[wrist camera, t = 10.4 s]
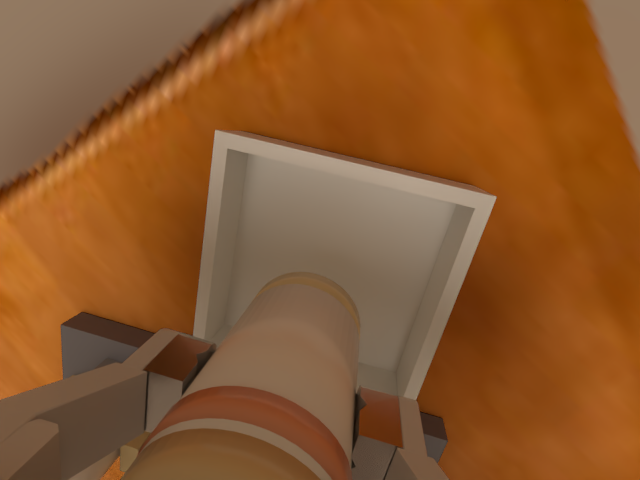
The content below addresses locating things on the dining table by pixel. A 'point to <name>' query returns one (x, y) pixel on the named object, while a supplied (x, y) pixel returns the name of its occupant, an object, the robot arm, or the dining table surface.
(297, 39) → the dining table surface
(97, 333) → the fuse block
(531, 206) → the dining table surface
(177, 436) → the marked fuse
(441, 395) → the dining table surface
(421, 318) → the tray
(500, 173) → the dining table surface
